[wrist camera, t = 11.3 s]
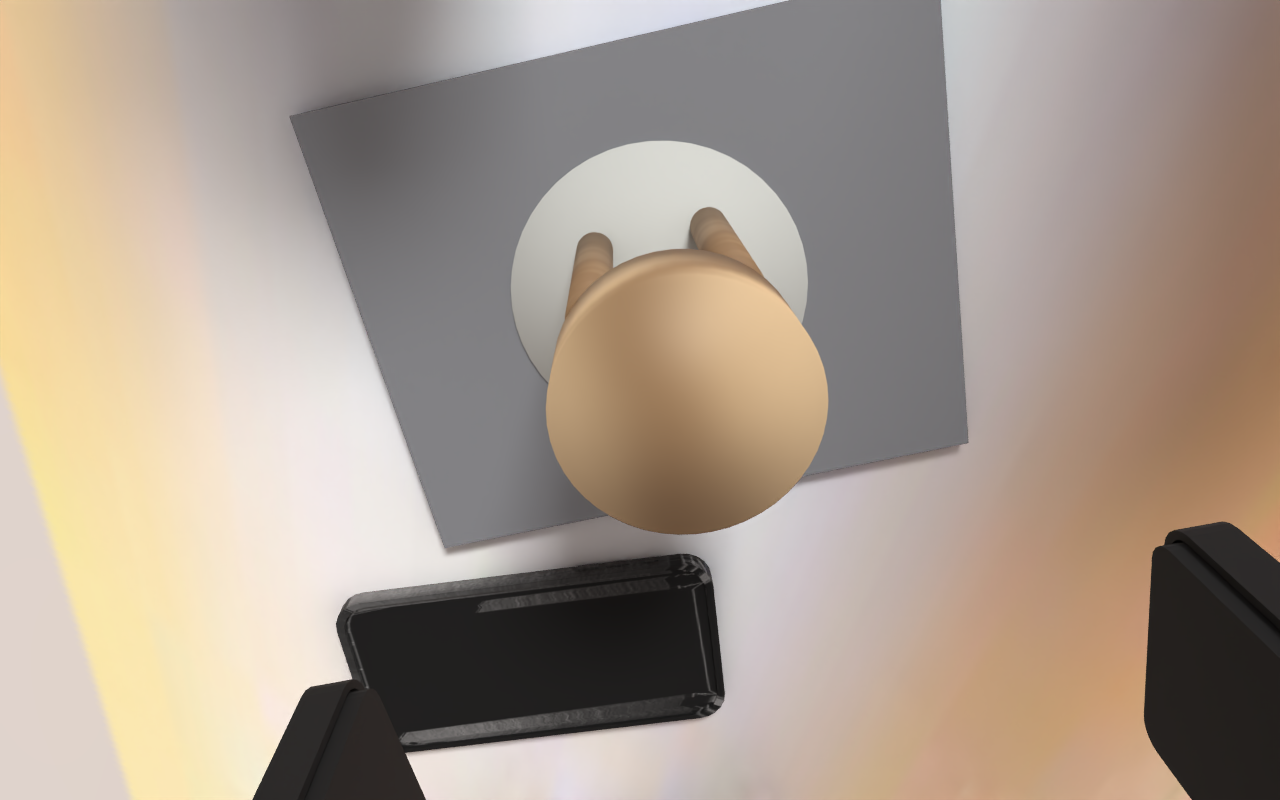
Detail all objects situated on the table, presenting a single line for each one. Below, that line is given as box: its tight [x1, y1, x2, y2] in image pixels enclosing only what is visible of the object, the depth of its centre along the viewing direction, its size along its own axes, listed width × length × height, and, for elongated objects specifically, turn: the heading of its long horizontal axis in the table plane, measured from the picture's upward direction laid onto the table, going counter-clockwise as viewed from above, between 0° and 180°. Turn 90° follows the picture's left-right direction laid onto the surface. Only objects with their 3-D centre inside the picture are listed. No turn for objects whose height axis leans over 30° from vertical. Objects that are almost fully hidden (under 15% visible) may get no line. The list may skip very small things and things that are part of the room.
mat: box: [289, 0, 968, 548], centre depth 28 cm, size 20×16×1 cm
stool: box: [546, 207, 828, 535], centre depth 24 cm, size 6×6×10 cm
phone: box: [336, 554, 725, 753], centre depth 35 cm, size 8×1×15 cm
